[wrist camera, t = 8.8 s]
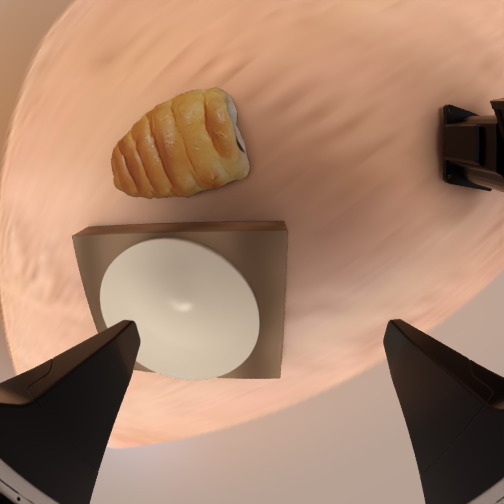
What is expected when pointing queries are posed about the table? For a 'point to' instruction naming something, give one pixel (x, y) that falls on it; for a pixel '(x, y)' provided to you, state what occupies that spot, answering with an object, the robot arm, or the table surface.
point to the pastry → (182, 148)
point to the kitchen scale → (192, 294)
